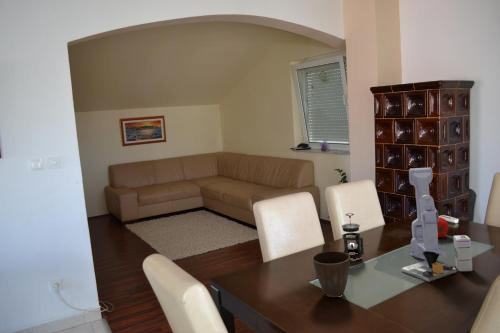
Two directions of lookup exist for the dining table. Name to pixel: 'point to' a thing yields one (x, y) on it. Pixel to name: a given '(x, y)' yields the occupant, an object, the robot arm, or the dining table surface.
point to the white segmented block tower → (462, 253)
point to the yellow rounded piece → (437, 267)
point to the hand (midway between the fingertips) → (432, 267)
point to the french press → (352, 246)
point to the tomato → (442, 227)
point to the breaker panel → (424, 263)
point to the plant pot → (332, 271)
